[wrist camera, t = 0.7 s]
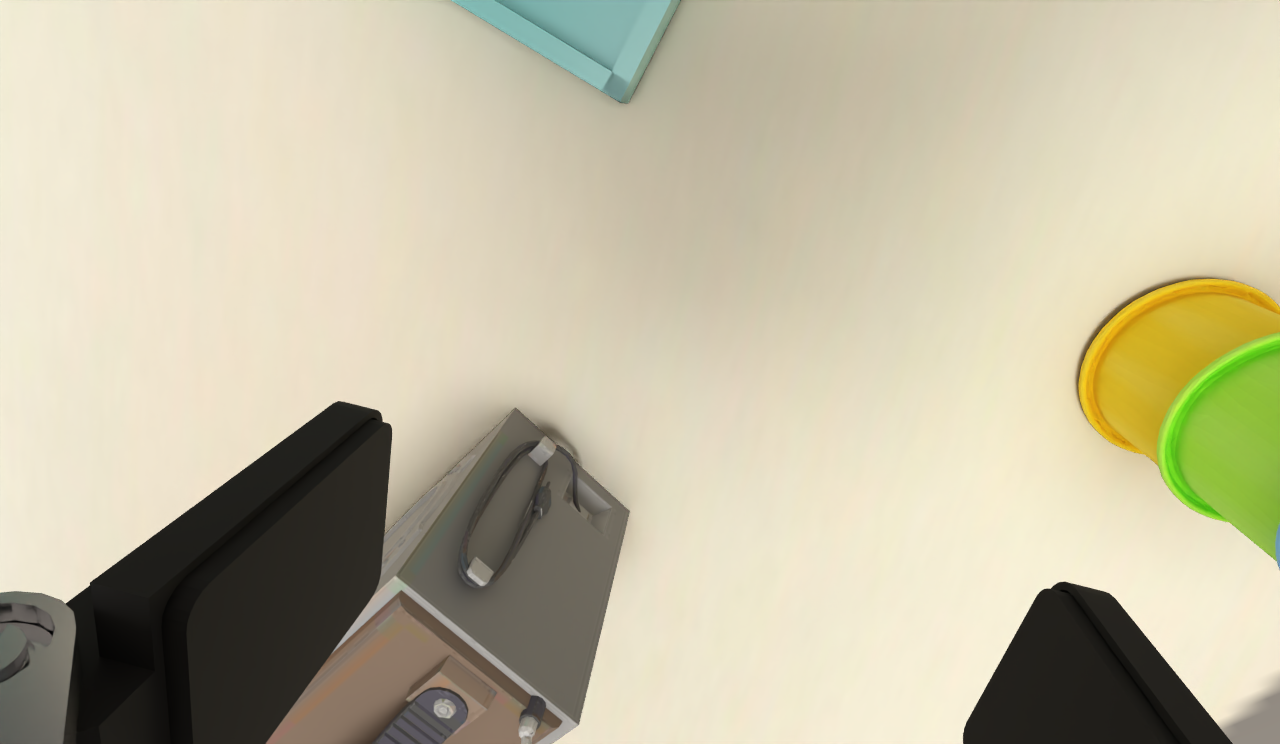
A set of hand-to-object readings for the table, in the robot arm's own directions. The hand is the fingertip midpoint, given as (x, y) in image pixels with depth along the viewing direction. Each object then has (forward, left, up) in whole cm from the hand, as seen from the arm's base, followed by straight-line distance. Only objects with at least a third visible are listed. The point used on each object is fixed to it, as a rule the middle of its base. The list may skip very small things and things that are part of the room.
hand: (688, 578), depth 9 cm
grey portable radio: (+27, -3, -30) cm, 41 cm away
